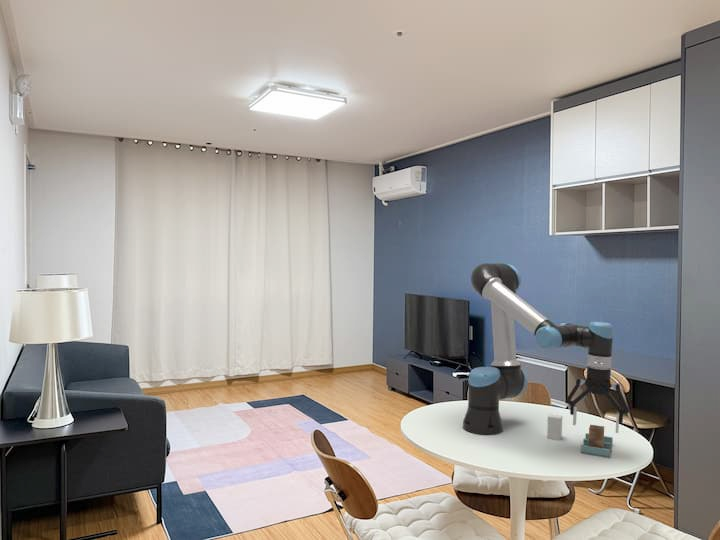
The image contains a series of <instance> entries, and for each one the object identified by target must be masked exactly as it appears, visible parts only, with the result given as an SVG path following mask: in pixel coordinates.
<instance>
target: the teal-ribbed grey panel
mask: <svg viewBox="0 0 720 540" xmlns="http://www.w3.org/2000/svg"><path fill="white" fill-rule="evenodd" d="M584 436H585V437H584V438H583V442H582V443H583V444H581V445H580V454H585V455H590V456H595V457H602V458H608V459H610V457H611V452H612V448H613V441H614V440H613V438H614V437H612V436H608V435H604V448H598V447H592V446H589V432H587V433H586V432H585V435H584Z"/></svg>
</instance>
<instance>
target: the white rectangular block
mask: <svg viewBox="0 0 720 540" xmlns="http://www.w3.org/2000/svg"><path fill="white" fill-rule="evenodd" d="M546 435H547V436H546V438H547V439H551V440H556V441H561V440H562V437H563V415H560V414H554V413H549V414H548V416H547V434H546Z"/></svg>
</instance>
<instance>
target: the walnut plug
mask: <svg viewBox="0 0 720 540" xmlns="http://www.w3.org/2000/svg"><path fill="white" fill-rule="evenodd" d="M588 434H589V446H592V447H598V448H604V436H605V426H602V425H597V424H590V425H589V427H588Z"/></svg>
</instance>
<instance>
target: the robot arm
mask: <svg viewBox="0 0 720 540" xmlns="http://www.w3.org/2000/svg"><path fill="white" fill-rule="evenodd" d="M521 278H522V276H521V274H520V272H519V270H518V268H516V267H515V266H514V265H512V264H507V263H489V262H488V263H487V262H485V263H484V262H483V263H480V264H478V265H477V266H476V267H474V269H473V270H472V272H471V275H470V282H471V285H472V287H473V289H474V290H475V291H476V293H477V294H479V295H480V297H483V299H484V300H485V299H486V300H490V305H491V307H490V308H491V309H490V310H491V319H492V320H491V326H492V340H493V355H494V356H493V357H494V360H493V361H492V362H491V363H490V366H479V367H475V368H472V369H471V370H470V372H469V375H468V382H467V383H468V391H467V392H468V393H467V394H468V398H467V399H468V401H467V402H468V403H467V404H468V405H467V409H466V412H465V415H464V418H463V421H462V428H463V430H465V431H467V432H470V433H472V434H476V435H488V436H491V435H499V434H501V433H502V432H503V431H504V424H503V421H502V417H501V414H500V409H499V408H500V400H505V399H513V398H515V397H518V396H521V395H522V394H523V393H524V392H525V390H526V389H527V387H528V376H527V374H526V373H525V371H524V370H523V368H521V363H520V362H519V361H518V360H517V351H516V334H515V333H516V332H515V322H517V323H518V324H519V325H521V326H522V327H524V328H525V330H527V331H529V332H530V333H531V334H532V335H533V336H534V337H535V341H536V344H537V345H538V346H539V347H540V348H542V349H547V350H553V349H554V350H555V349H559V348H567V347H580V348H585V349H587V362H586V363H587V368H586V378H585V379H582V378H580V377H578V378H577V379H576V382H575V385H574V387H573V388H572V390H571V391H570V392H569V395H568V397H567V398H566V399H565V404H568V405H569V406H570V410H569V411H570V412H569V414H570V415H571V416H572V417H573V418H572V426H576V425H577V412H578V405H577V404H578V403H579V402H580V401H581V400H582V399H583V398H585V397H586V396H587V395H588V394H589V393H591V394H592V395H599V396H603V395H604V396H605V397H606V398H607V399H608V400H609V401H610V403H611V404H612V406H613V407H614V408H615V409H616V417H615V418H616V420H615V433H616V434H619V425H620V424H623V420H624V415H625V414H629V413H630V408H629V406H628V404H627V401H626V399H625V397H624V394H623V393H622V391H621V384H620V383H619V382H616V383H612V382H611V375H612V374H611V373H612V370H611V369H610V368H612V359H613V356H612V355H613V354H612V353H613V339H614V327H613V325H612V324H611V323H609V322H603V321H602V322H600V321H591V322H590V323H589V326H586V325H579V324H573V323H567V322H566V323H565V322H563V323H560V324H558V325H556V324H555V323H553V321H551V320H550V319H548V318H547V317H546V316H544V315H543V314H542V313H541V312H539V311H538V310H536V308H534V307H533V306H532V305H531V304H530V303H528V302H526V301H525V300H524V299H523V298H522V297H520V296H519V295H517V291H518V290H519V288H520V286H521V284H522V279H521ZM583 384H584V385H585V386H586V388H585V390H583V391H582V392H581V393H580V394H579V395H578V396H577V397H576V398H574V399H573V400H572V398H573V397H574V395H575V393H577V391H578V389H579V387H580V386H582V385H583ZM611 388H612V389H613V391H615V392H616V394H617V397H618V399H619V401H620V404H621V405H622V406H621V405H620V404H619V403H618V401H617V400H616V398H615V397H614V396H613V395H612V394H611V392H610V391H609V390H610V389H611Z"/></svg>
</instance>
